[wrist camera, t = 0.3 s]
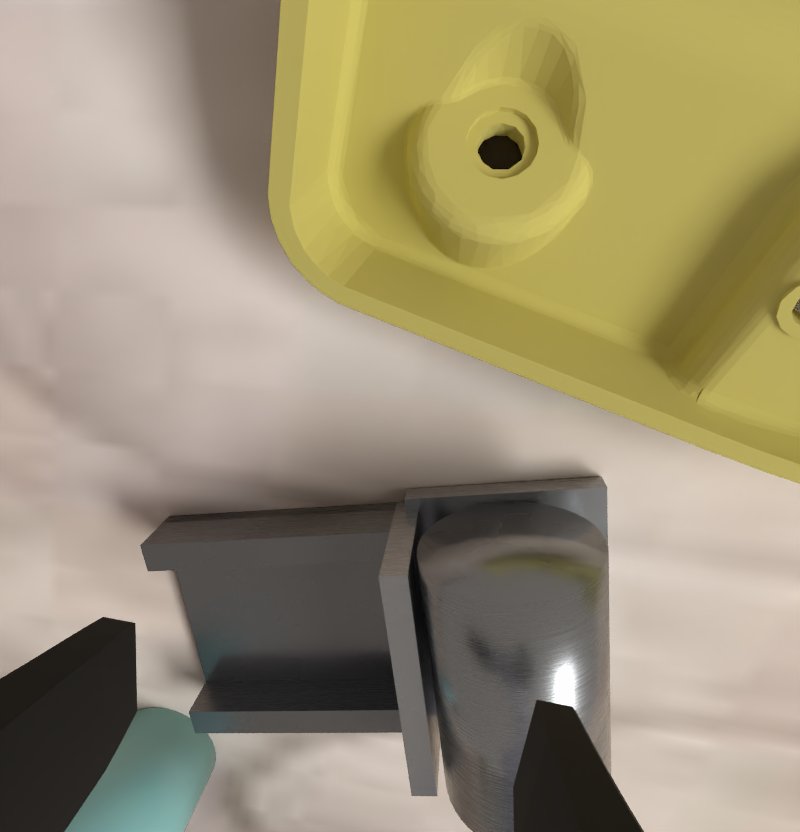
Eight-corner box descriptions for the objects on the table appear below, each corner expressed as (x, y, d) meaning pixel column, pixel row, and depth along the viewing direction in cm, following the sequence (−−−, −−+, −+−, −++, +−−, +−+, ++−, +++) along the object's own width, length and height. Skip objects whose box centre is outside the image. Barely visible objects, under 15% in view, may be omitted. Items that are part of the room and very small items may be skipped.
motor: (605, 724, 22) (653, 899, 16) (226, 726, 24) (152, 882, 18) (601, 476, 19) (659, 586, 13) (166, 503, 21) (55, 607, 15)
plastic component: (262, 273, 16) (299, -293, 9) (360, 176, 21) (433, -226, 14) (982, 560, 14) (1719, 176, 7) (896, 382, 20) (1281, 56, 13)
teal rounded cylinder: (225, 787, 25) (146, 971, 19) (132, 785, 26) (26, 964, 20) (203, 707, 24) (110, 877, 18) (105, 708, 25) (-18, 873, 18)
